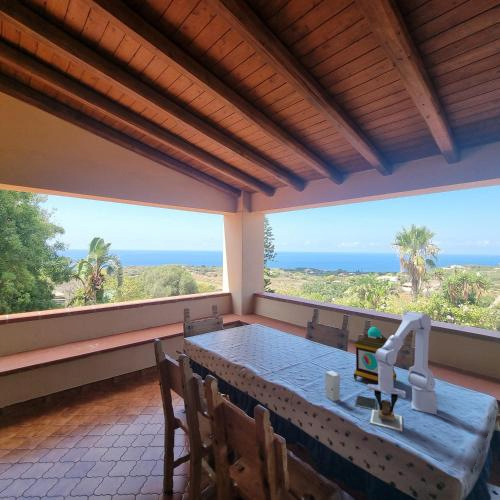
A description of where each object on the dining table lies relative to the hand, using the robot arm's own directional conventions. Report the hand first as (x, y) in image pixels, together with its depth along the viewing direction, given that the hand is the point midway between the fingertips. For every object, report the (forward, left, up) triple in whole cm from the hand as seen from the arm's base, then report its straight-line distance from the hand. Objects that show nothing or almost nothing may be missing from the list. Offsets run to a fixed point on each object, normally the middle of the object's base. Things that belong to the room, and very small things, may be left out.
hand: (386, 410), depth 118 cm
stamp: (0, 0, -2) cm, 3 cm away
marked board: (0, 0, -4) cm, 4 cm away
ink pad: (+9, -11, -4) cm, 15 cm away
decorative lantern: (+7, -42, -4) cm, 43 cm away
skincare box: (+24, -9, -4) cm, 26 cm away
